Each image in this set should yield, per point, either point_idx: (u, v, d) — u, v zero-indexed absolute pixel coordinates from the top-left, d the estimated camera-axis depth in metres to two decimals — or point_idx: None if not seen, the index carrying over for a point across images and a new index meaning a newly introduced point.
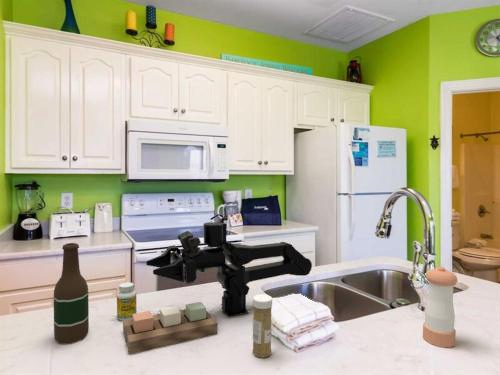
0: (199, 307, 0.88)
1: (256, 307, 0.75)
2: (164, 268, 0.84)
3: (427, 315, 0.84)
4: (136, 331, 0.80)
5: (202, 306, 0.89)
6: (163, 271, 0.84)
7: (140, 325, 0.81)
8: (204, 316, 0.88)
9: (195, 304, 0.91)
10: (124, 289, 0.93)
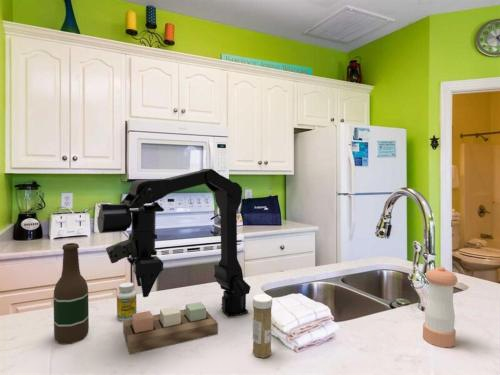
0: (199, 307, 0.88)
1: (256, 307, 0.75)
2: (143, 287, 0.78)
3: (427, 315, 0.84)
4: (136, 331, 0.80)
5: (202, 306, 0.89)
6: (146, 288, 0.78)
7: (140, 325, 0.81)
8: (204, 316, 0.88)
9: (195, 304, 0.91)
10: (124, 289, 0.93)
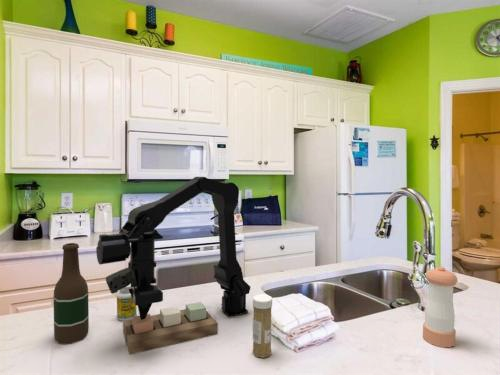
0: (199, 307, 0.88)
1: (256, 307, 0.75)
2: (140, 310, 0.81)
3: (427, 315, 0.84)
4: None
5: (202, 306, 0.89)
6: (143, 311, 0.82)
7: (140, 328, 0.81)
8: (204, 316, 0.88)
9: (195, 304, 0.91)
10: (124, 289, 0.93)
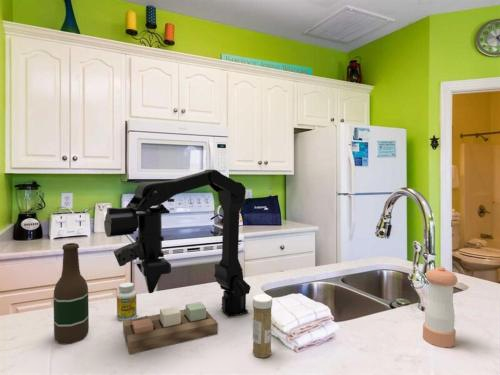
0: (199, 307, 0.88)
1: (256, 307, 0.75)
2: (148, 284, 0.82)
3: (427, 315, 0.84)
4: None
5: (202, 306, 0.89)
6: (151, 284, 0.82)
7: None
8: (204, 316, 0.88)
9: (195, 304, 0.91)
10: (124, 289, 0.93)
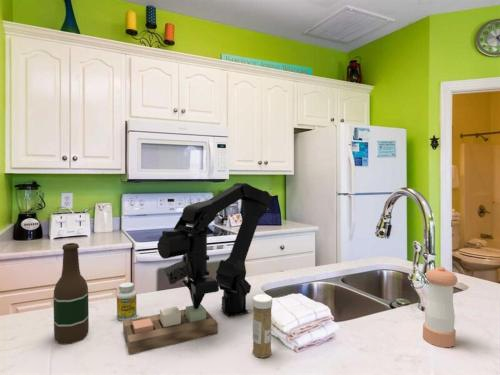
0: (199, 309, 0.88)
1: (256, 307, 0.75)
2: (194, 300, 0.88)
3: (427, 315, 0.84)
4: None
5: (202, 308, 0.89)
6: (197, 300, 0.88)
7: None
8: (204, 318, 0.88)
9: None
10: (124, 289, 0.93)
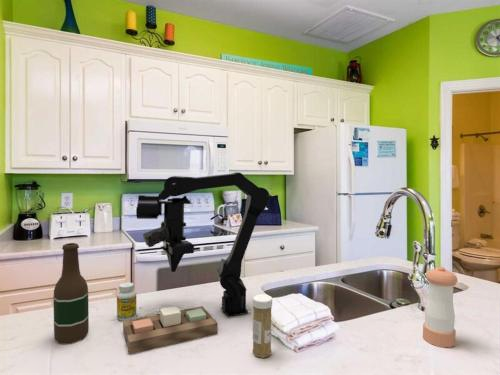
0: (199, 314, 0.88)
1: (256, 307, 0.75)
2: (171, 263, 0.95)
3: (427, 315, 0.84)
4: None
5: (202, 313, 0.89)
6: (174, 264, 0.95)
7: None
8: None
9: (195, 311, 0.91)
10: (124, 289, 0.93)
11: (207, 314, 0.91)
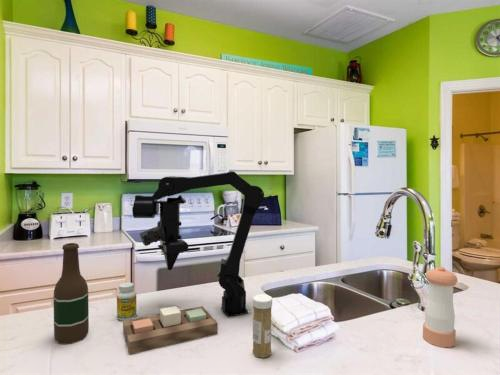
0: (199, 314, 0.88)
1: (256, 307, 0.75)
2: (168, 262, 0.97)
3: (427, 315, 0.84)
4: None
5: (202, 313, 0.89)
6: (170, 262, 0.98)
7: None
8: None
9: (195, 311, 0.91)
10: (124, 289, 0.93)
11: (207, 314, 0.91)
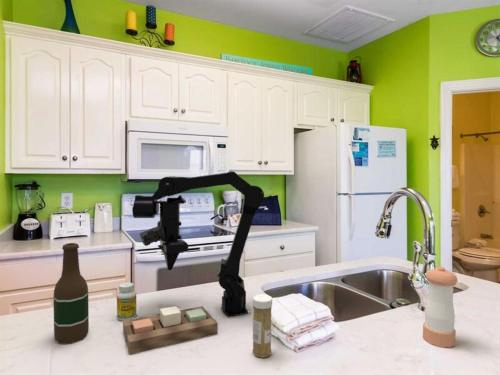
0: (199, 314, 0.88)
1: (256, 307, 0.75)
2: (168, 262, 0.97)
3: (427, 315, 0.84)
4: None
5: (202, 313, 0.89)
6: (170, 262, 0.98)
7: None
8: None
9: (195, 311, 0.91)
10: (124, 289, 0.93)
11: (207, 314, 0.91)
